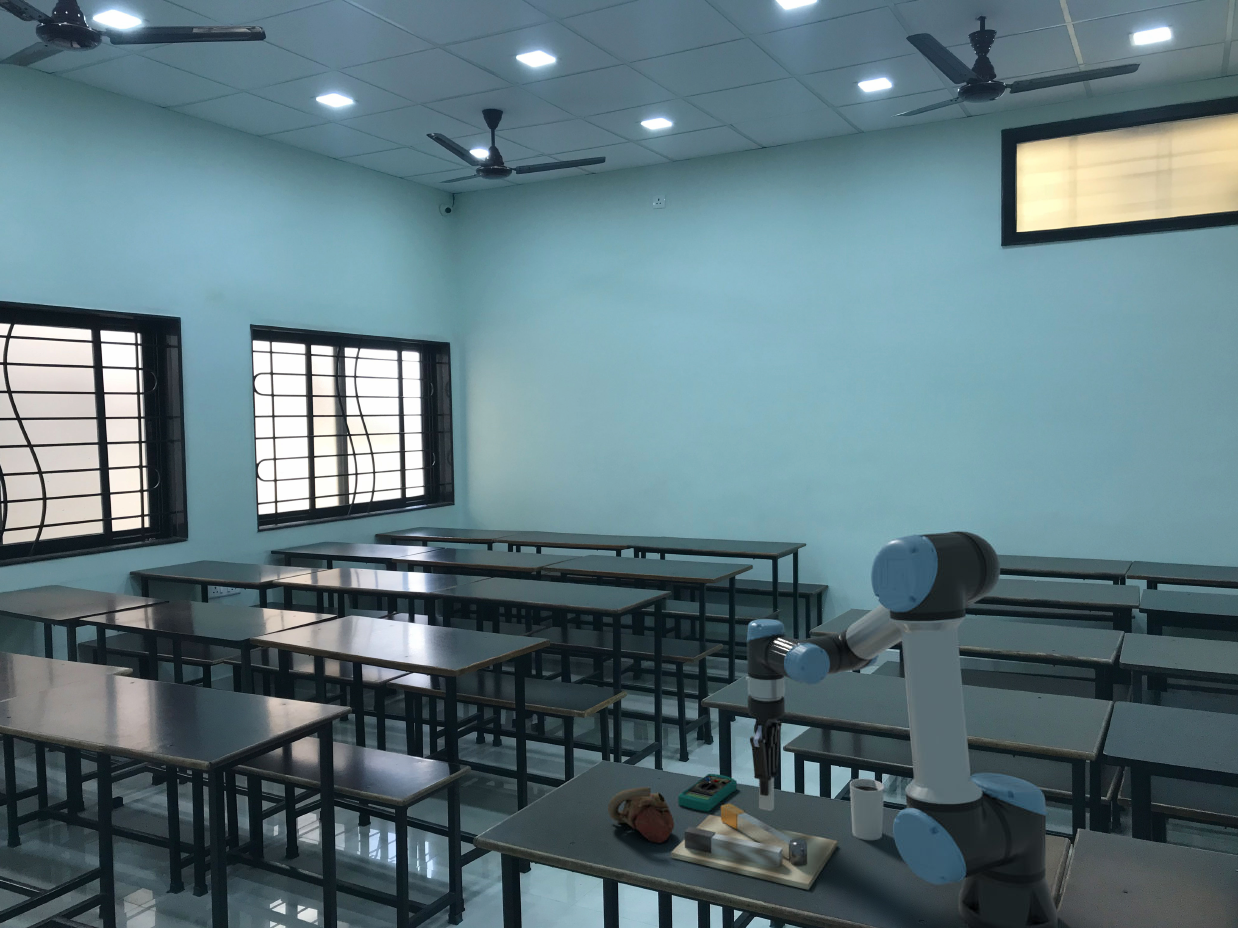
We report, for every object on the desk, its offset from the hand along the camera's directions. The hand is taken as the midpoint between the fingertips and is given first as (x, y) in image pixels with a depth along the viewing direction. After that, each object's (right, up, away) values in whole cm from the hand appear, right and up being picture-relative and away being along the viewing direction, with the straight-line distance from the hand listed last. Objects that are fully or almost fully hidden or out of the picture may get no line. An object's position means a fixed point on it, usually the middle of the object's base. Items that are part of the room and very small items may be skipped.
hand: (766, 808), depth 185 cm
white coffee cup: (+20, -4, -4) cm, 20 cm away
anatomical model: (-25, -5, -1) cm, 26 cm away
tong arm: (-2, -3, -9) cm, 10 cm away
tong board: (-4, -4, -11) cm, 12 cm away
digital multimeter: (-10, -4, +16) cm, 19 cm away
